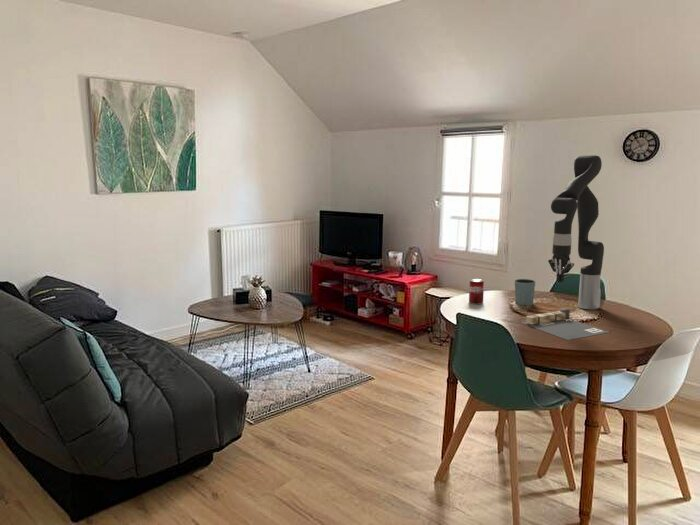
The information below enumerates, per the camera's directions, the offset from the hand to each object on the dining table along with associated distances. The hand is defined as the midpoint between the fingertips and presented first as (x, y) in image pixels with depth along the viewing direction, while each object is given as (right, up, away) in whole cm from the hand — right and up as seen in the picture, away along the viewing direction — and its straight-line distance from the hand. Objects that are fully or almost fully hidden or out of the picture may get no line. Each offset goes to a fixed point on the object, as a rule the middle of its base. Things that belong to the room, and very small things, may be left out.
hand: (559, 282), depth 239 cm
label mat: (0, -20, -3) cm, 20 cm away
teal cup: (-4, -13, +37) cm, 40 cm away
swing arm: (-3, -18, +5) cm, 19 cm away
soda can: (-28, -13, +40) cm, 50 cm away
